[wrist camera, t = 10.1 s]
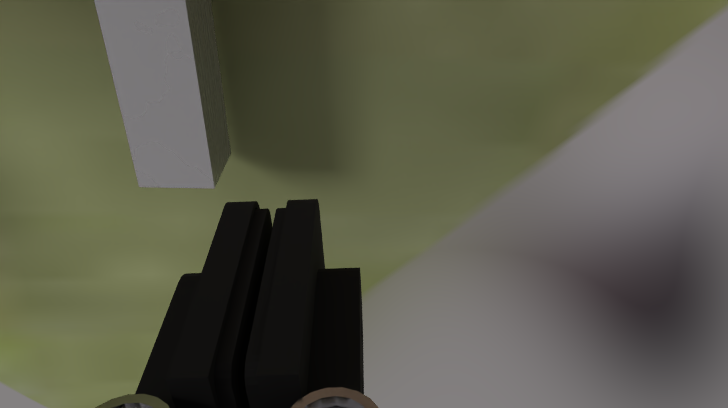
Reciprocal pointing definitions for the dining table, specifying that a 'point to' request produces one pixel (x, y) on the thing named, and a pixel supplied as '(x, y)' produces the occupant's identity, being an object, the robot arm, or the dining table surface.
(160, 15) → the folding leg
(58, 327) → the dining table surface
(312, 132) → the dining table surface
